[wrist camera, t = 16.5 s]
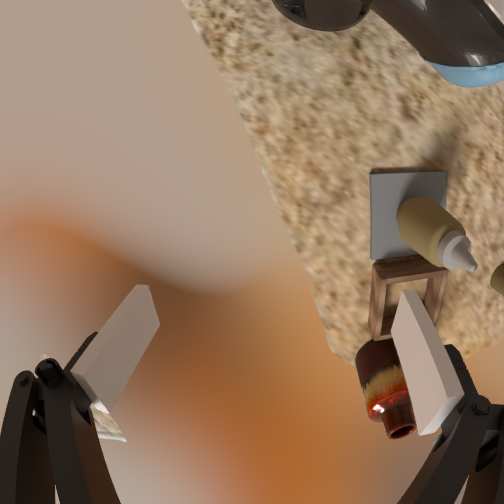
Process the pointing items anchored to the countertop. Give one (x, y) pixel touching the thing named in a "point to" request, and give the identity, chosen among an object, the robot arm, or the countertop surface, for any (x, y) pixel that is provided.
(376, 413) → the vase
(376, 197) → the slate mat
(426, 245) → the squeeze bottle
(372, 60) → the countertop surface
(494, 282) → the cork
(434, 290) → the bottle holder
